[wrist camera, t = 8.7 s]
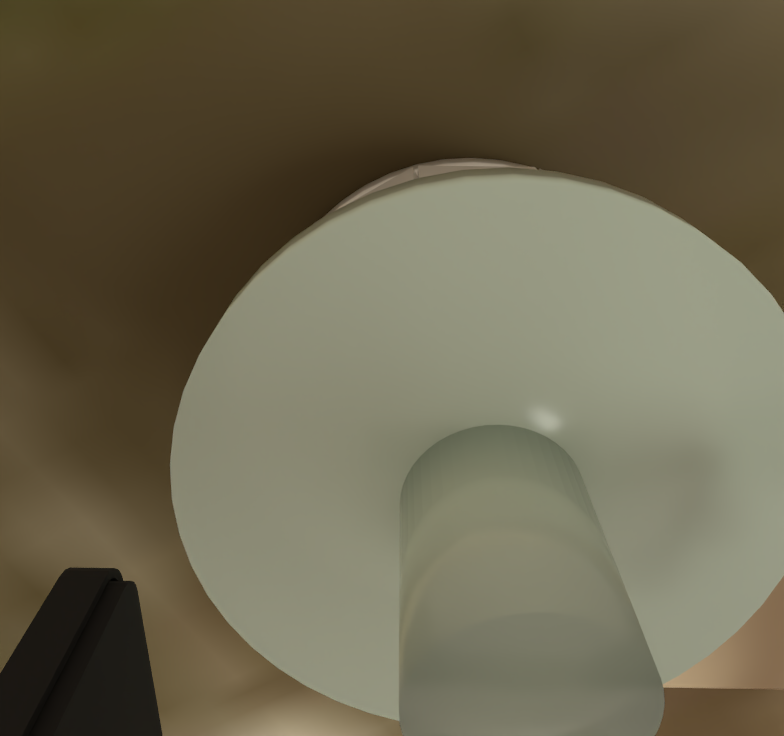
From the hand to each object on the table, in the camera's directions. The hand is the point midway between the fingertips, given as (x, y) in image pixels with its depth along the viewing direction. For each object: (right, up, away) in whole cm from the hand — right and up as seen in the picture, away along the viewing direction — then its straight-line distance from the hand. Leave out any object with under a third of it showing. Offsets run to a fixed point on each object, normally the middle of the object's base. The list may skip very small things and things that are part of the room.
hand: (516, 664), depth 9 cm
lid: (0, +2, +4) cm, 4 cm away
